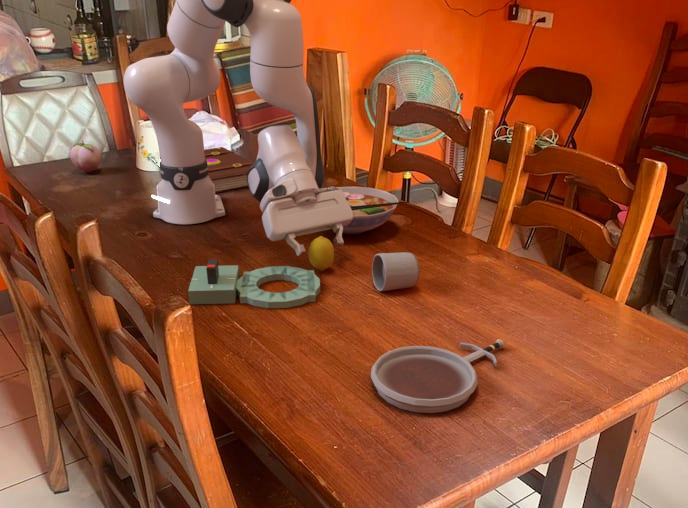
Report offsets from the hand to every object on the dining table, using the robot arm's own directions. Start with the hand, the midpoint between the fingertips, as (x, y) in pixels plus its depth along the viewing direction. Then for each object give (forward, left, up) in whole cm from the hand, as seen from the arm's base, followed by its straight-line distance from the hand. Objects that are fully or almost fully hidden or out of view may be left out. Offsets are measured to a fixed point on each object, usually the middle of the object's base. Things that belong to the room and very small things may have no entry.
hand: (321, 249), depth 145 cm
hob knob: (+10, -22, -2) cm, 24 cm away
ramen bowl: (-25, +8, -5) cm, 27 cm away
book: (-72, -32, -5) cm, 79 cm away
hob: (+9, -9, -5) cm, 14 cm away
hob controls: (+9, -22, -5) cm, 24 cm away
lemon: (0, 0, -5) cm, 5 cm away
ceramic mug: (+8, +14, -5) cm, 17 cm away
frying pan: (+42, +19, -5) cm, 47 cm away
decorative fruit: (-79, -71, -5) cm, 106 cm away
